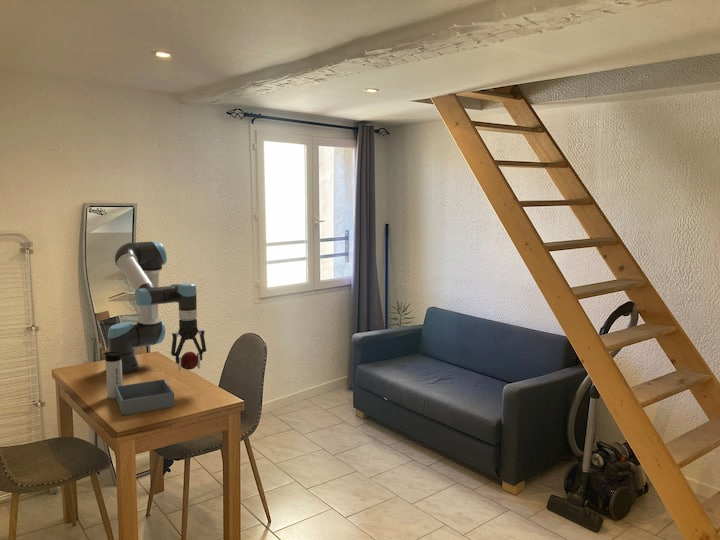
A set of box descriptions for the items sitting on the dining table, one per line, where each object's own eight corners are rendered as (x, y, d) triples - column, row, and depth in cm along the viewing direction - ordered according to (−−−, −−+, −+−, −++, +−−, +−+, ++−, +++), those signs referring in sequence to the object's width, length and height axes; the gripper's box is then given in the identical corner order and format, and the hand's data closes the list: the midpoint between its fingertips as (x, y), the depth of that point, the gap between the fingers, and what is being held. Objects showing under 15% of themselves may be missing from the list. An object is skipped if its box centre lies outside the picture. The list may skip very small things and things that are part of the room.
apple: (201, 367, 248) (201, 350, 247) (191, 373, 241) (190, 355, 239) (187, 365, 250) (187, 348, 249) (176, 371, 243) (176, 353, 242)
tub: (116, 400, 236) (115, 386, 235) (164, 392, 246) (164, 379, 245) (122, 415, 218) (121, 401, 218) (174, 406, 228) (173, 392, 228)
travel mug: (109, 394, 242) (107, 350, 239) (125, 394, 242) (123, 350, 240) (104, 399, 236) (102, 354, 233) (120, 399, 236) (118, 354, 234)
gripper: (165, 322, 234) (167, 374, 237) (213, 318, 244) (214, 368, 247) (162, 319, 240) (163, 369, 243) (208, 314, 250) (209, 363, 254)
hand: (189, 368), depth 245 cm, fingers closed on apple, 7 cm apart
